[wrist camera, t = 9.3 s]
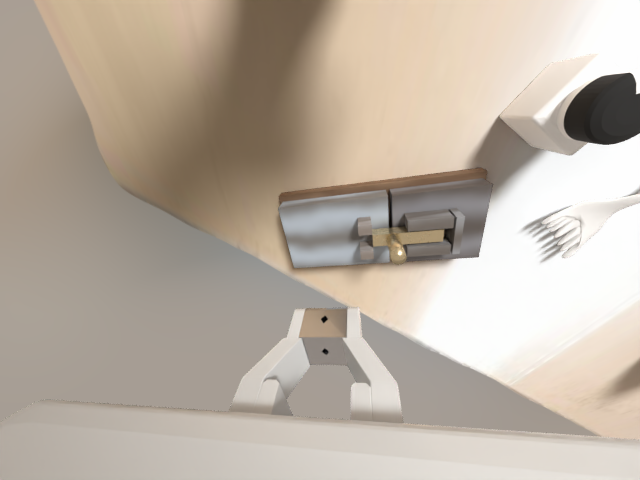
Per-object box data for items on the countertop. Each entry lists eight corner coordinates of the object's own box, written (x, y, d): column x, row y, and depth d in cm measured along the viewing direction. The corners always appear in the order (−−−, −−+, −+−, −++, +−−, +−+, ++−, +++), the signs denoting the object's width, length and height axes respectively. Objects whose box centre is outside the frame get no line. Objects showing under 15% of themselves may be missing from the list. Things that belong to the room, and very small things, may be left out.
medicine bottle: (531, 147, 33) (611, 167, 23) (496, 116, 32) (565, 122, 21) (586, 98, 30) (710, 94, 19) (550, 61, 28) (662, 36, 18)
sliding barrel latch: (281, 192, 41) (267, 210, 34) (480, 167, 35) (511, 182, 28) (298, 257, 48) (288, 282, 41) (467, 246, 42) (490, 273, 35)
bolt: (371, 229, 36) (375, 253, 30) (439, 223, 35) (457, 247, 29) (372, 240, 37) (375, 265, 31) (438, 234, 36) (455, 261, 30)
